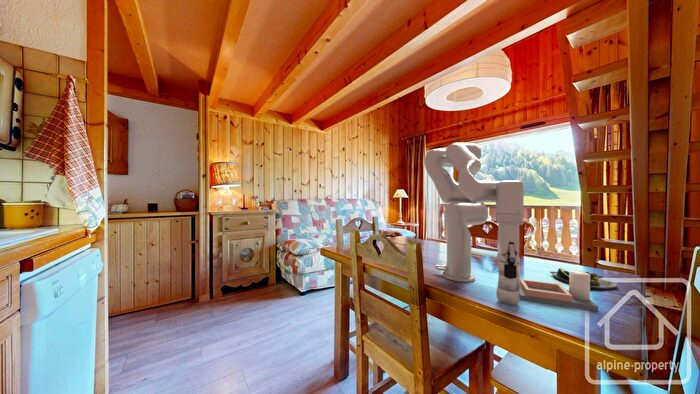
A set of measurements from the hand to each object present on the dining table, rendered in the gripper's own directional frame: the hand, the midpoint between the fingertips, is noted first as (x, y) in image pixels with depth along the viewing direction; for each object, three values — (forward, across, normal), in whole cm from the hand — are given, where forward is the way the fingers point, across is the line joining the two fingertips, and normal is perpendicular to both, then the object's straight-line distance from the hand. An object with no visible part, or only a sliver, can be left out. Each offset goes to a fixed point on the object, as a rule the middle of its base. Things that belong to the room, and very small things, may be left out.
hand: (508, 273), depth 80 cm
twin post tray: (+10, -11, +12) cm, 19 cm away
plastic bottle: (+10, 0, 0) cm, 10 cm away
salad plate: (+10, -35, +30) cm, 47 cm away
